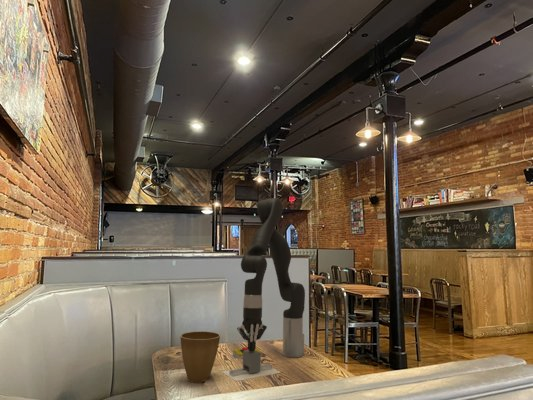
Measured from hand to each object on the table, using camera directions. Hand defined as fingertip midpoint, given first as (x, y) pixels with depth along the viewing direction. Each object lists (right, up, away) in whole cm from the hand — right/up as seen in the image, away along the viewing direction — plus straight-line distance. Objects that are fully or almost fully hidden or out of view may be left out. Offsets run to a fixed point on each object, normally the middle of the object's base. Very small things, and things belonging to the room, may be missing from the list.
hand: (251, 351), depth 146 cm
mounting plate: (0, -9, -1) cm, 9 cm away
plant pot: (-20, -8, -8) cm, 22 cm away
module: (0, -7, -1) cm, 7 cm away
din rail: (0, -9, -1) cm, 9 cm away
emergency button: (-2, -13, +23) cm, 26 cm away
